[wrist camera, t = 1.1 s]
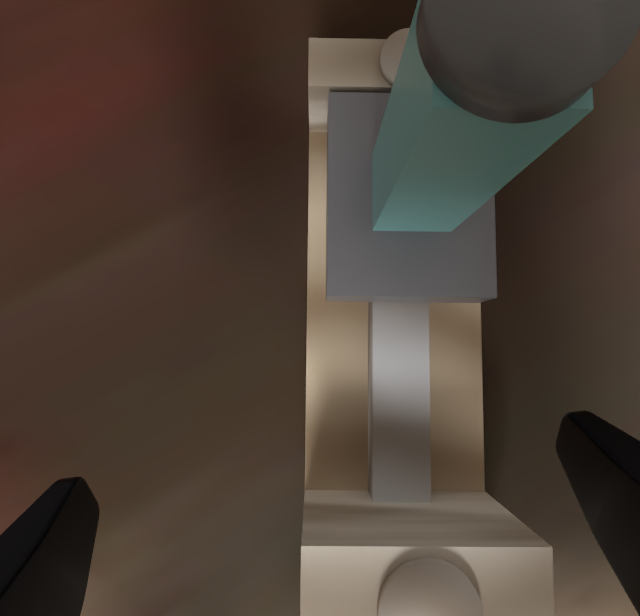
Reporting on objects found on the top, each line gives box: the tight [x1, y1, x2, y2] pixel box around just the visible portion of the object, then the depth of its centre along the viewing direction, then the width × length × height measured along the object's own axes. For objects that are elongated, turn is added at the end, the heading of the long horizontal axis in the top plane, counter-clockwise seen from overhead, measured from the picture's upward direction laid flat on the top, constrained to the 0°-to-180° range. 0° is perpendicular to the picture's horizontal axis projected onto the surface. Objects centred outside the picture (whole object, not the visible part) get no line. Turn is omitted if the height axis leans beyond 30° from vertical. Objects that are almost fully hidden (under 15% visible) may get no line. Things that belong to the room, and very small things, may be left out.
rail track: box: [300, 28, 555, 616], centre depth 18 cm, size 22×8×7 cm, turn 179°
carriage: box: [326, 0, 640, 303], centre depth 14 cm, size 8×6×12 cm
